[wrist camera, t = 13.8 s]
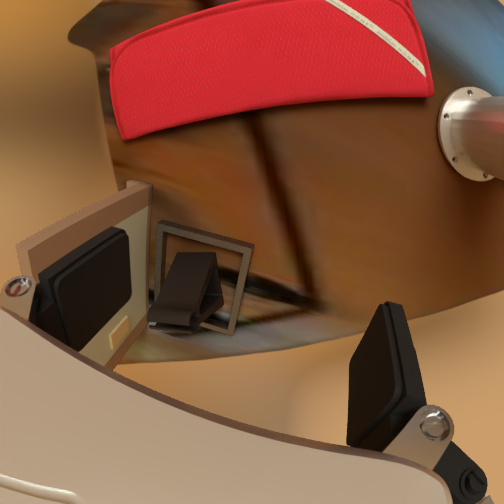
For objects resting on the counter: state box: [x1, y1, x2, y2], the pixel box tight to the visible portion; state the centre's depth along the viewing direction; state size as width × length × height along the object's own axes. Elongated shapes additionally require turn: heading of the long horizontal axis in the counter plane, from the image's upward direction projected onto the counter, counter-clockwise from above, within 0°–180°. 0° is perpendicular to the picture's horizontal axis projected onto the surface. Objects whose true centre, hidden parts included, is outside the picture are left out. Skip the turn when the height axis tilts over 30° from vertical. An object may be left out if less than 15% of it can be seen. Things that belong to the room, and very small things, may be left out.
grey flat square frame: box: [155, 220, 254, 336], centre depth 44 cm, size 14×16×2 cm
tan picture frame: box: [16, 180, 153, 371], centre depth 35 cm, size 4×26×23 cm, turn 169°
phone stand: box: [147, 252, 224, 334], centre depth 39 cm, size 9×6×12 cm, turn 5°
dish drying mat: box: [110, 0, 434, 141], centre depth 28 cm, size 16×41×4 cm, turn 99°
